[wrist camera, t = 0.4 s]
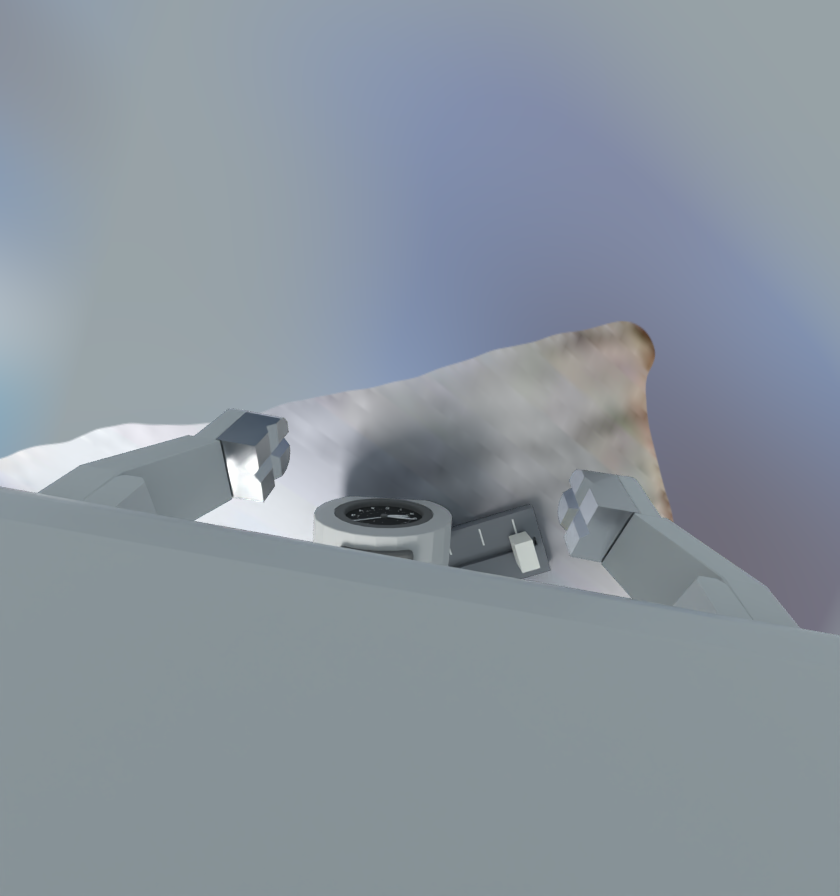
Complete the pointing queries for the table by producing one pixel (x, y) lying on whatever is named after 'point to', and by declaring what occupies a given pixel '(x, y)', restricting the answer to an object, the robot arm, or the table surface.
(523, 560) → the fader knob
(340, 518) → the alarm clock
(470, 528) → the fader deck
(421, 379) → the table surface
